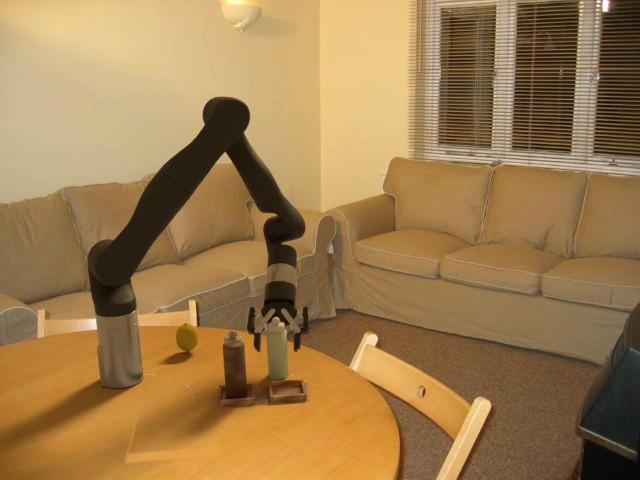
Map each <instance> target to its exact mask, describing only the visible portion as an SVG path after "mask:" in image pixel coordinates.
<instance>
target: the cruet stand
mask: <svg viewBox="0 0 640 480" xmlns="http://www.w3.org/2000/svg"><path fill="white" fill-rule="evenodd" d="M299 402H300V403H302V402H304V403H305V402H311V399H310V393H309V388H308V383H307V382H305V379H304V378H297V379H286V380H285V379H281V380H271V381H270V380H269V381H268V385H267V384H266V385H255V382H247V398H237V399H226V389H225V384H219V385H218V388H216V393H215V404H214V405H215V407H214V409H223V408H225V409H226V408H234V407H235V408H237V407H248V406H249V407H250V406H261V405H262V406H263V405H264V406H265V405H274V404H287V403H288V404H289V403H299Z"/></svg>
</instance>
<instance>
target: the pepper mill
mask: <svg viewBox="0 0 640 480" xmlns="http://www.w3.org/2000/svg"><path fill="white" fill-rule="evenodd" d="M223 342H224V343H223V344H222V356H223V369H224V370H223V371H224V382H225V383H224V385H225V389H226V399H237V398H247V383H248V382H247V381H248V380H247V366H246V363H247V362H246V350H245V348H246V346H245V343H244V341H243V336H242V335H241V334H238V332H237V331H236V330H235V329H231V330H229V332H228V335H226V336H225V337H224V338H223Z"/></svg>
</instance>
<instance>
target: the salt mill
mask: <svg viewBox="0 0 640 480" xmlns="http://www.w3.org/2000/svg"><path fill="white" fill-rule="evenodd" d="M265 332H266V334H265V335H266V337H265V338H266V354H267V370H268V371H267V372H268V378H269V379H272V380H275V381H280V380H285V379H287V378H288V377H289V358H288V357H289V354H288V337H287V336H288V333H287V329H286V328H285V324H284V323H283V322H280V319H279V318H278V317H274V318H273V319H272V322H270V323H269V324H268V329H267V330H266V331H265Z"/></svg>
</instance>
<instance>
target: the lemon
mask: <svg viewBox="0 0 640 480" xmlns="http://www.w3.org/2000/svg"><path fill="white" fill-rule="evenodd" d="M197 330H198V329H197V328H196V327H195V326H194V325H193V324H191V323H188V322H184V324H181V325H180V326H178V328H177V330H176V332H175V341H176V345H177V348H179V349H180V350H182V351H184V352H186V353H191V351H193V350H194V349H195V348H196V347H197V345H198V342H199V334H198V331H197Z"/></svg>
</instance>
